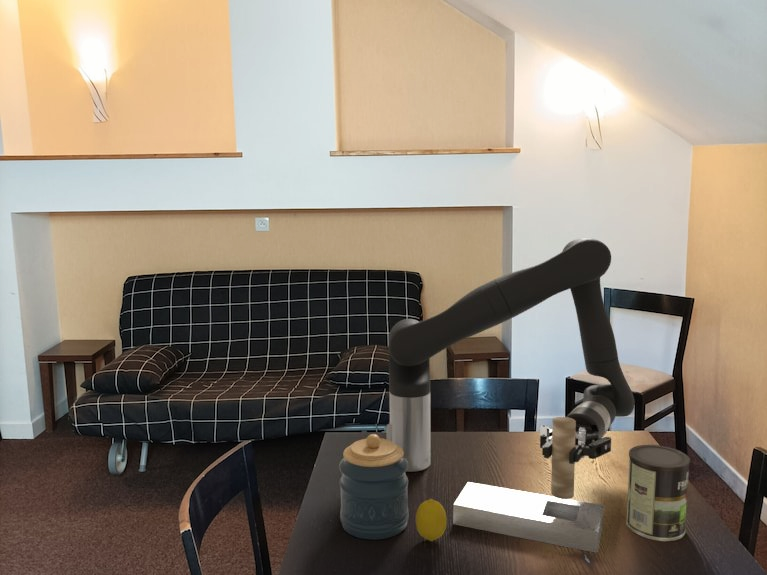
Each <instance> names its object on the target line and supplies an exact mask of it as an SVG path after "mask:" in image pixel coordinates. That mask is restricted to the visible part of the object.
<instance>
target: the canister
mask: <svg viewBox="0 0 767 575" xmlns="http://www.w3.org/2000/svg"><path fill="white" fill-rule="evenodd" d="M403 455H404V451H403V449H402V448H401V447H400V446H398V445H396V444H395V443H393V442H392V441H390V440H387V438H383V437H382V438H381V437H380V436H379V435H378V434H376V433H371V434H368V436H366V438H362V439H359V440H356V441H354V442H353V443H352V444H350V445H349V446H347V447H346V448H344V451H343V453H342V456H343V458H342V459H341V461H340V462H339V465H338V469H339V471H340V473H341V477H340V479H339V487H340V511H339V513H340V515H339V518H340V522H341V525H342V528H343V530H344V531H345V532H346V533H348V534H349V535H351V536H353V537H355V538H359V539H363V540H374V541H375V540H383V539H388V538H392V537H395V536H396V535H399V534H400V533H402V532H403V531H404V530H405V529H406V527H407V526H408V520H409V518H410V517H409V516H410V515H409V512H410V510H409V507H408V502H409V501H408V499H409V498H408V491H409V490H408V487H409V479H408V476H407V475H406V472H407V471H406V470H407V469H408V462H407V460H406V459H405V458H404V457H403Z"/></svg>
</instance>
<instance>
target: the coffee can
mask: <svg viewBox="0 0 767 575" xmlns="http://www.w3.org/2000/svg"><path fill="white" fill-rule="evenodd" d="M628 456H629V462H628V463H629V464H628V482H627V483H628V484H627V485H628V487H627V507H626V519H625V521H626V522H625V524H626V526H627V528H628V529H629V530H630V531H631V532H632V533H634V534H636V535H638V536H640V537H642V538H645V539H648V540H653V541H656V542H675V541H679V540H681V539H682V538H684V536H685V535H686V520H687V517H686V516H687V504H688V503H687V502H688V490H689V489H688V487H689V486H688V484H689V471H690V464H691V458H690V457H689V456H688V455H687V454H686V453H684V452H683V451H682V450H678V449H677V448H673V447H669V446H665V445H658V444H642V445H640V444H639V445H635V446H633V447H631V448H630V449H629V451H628Z"/></svg>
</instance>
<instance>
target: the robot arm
mask: <svg viewBox="0 0 767 575" xmlns="http://www.w3.org/2000/svg"><path fill="white" fill-rule="evenodd" d="M611 263H612V254H611V251H610V248H609V247H608V246H607V245H606V244H605V243H603V241H600V240H599V239H596V238H591V237H581V238H576V239H573V240H571V241H569V242H568V243H567V244H566V245H565V246H564V247H563V249H562V251H561V252H560V253H558V254H556V255H555V256H553V257H551V258H549V259H548V260H546V261H543V262H541V263H538V264H536V265H534V266H529V267H527V268H522V269H520V270H516V271H513V272H511V273H507V274H504V275H502V276H499V277H497V278H495V279H493V280H489V281H488V282H486V283H484V284H482V285H480V286H478V287H476V288H474V289H473V290H471V291H470V292H468V293H467V294H465V295H464V296H462V297H461V298H460V299H459V300H457V301H456V302H455V303H454V304H452V305H451V306H450V307H448V308H446V309H445V310H444V311H442V312H440V313H438V314H436V315H434V316H431V317H429V318H427V319H425V320H421V321H419V320H416V319H413V318H405V319H401V320H399V321H398V322H396V323H395V325H393V326H392V328H391V329H390V331H389V335H388V379H389V380H388V388H389V390H388V392H389V394H388V395H389V423H388V424H386V439H387V440H390V441H392V442H393V443H395V444H396V445H398V446H400V447H401V448H402V449H403V451H404V455H403V457H404V458H405V459H406V460H407V462H408V469H407V470H406V472H409V473H410V472H411V473H412V472H420V471H423V470H426V469H428V468H429V467H431V456H432V454H431V368H430V366H431V364H430V361H431V360H430V358H432V357H434V356H436V355H437V354H439V353H440V352H442V351H443V350H445V349H447V348H448V347H450V346H453V345H455V344H456V343H458V342H460V341H463V340H465V339H467V338H471V337H473V336H475V335H476V336H477V335H478V334H480V333H482V332H485V331H486V330H489V329H492V328H494V327H496V326H498V325H500V324H503V323H505V322H507V321H508V320H511V319H512V318H513V319H514V318H515V317H518V316H519V315H520V314H522V313H525V312H527V311H528V310H530V309H533V308H534V307H535V306H537V305H539V304H542V302H545V301H546V300H547V299H549V298H551V297H553V296H556V295H558V294H560V293H562V292H564V291H568V290H569V289H570V293H571V296H572V300H573V304H574V307H575V308H574V309H575V311H576V317H577V323H578V327H579V328H578V329H579V336H580V342H581V347H582V353H583V358H584V365H585V369H586V371H587V373H588V374H589V375H591V376H595V377H599V378H604V379H606V380H607V381H608V382H609V384H594V385H590V386H588V387H586V388H585V389H584V391H583V398H582V402H581V403H580V404H578V405H577V406H576V407H575V408H574V409H572V411H570V413H568V414H567V416H566V417H569V418H572V419H574V420H575V421H576V433H575V447H574V448H573V449H572V450H571V451H570V453H569V463H570V464H574V463H575V464H576V463H578V462H580V460H581V459H584V458H586V457H588V459H591V460H595V459H598V458H599V457H602V456H604V455H606V454H608V453H610V452H612V437H611V436H605V435H606V434H607V432H608V430H609V428H610V426H611V425H612V424H613V423H614V422H615V419H616V417H617V418H618V417H619V418H621V417H622V418H623V417H629V416H630V415H631V414H632V413H633V410H634V408H635V398H634V394H633V391H632V389H631V386H630V385H629V383H628V380H626V377H625V375H624V372H623V369H622V368H621V365H620V361H619V357H618V356H619V355H618V348H617V342H616V338H615V334H614V331H613V326H612V324H611V321H610V318H609V315H608V313H607V309H606V306H605V303H604V298H603V294H602V288H601V277H602V276H603V275H605V274H606V273H607V271H608V269H609V268H610V266H611ZM539 431H540V433H539V448H540V449H542V450H541V452H542V453H541V455H542V456H543V458H544V459H547V460H548V459H550V458H551V457H552V428H550V427H548V425H546V424H541V425H540V430H539Z"/></svg>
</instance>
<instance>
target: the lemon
mask: <svg viewBox="0 0 767 575" xmlns="http://www.w3.org/2000/svg"><path fill="white" fill-rule="evenodd" d="M447 522H448V520H447V512H446V510H445V508H444V506H443V505H442V504H441V503H440V502H439V501H437V500H434V499H433V498H429V499H426V500H424V501H423V502H421V503H420V505H419V506H418V508H417V510H416V514H415V525H416V530H417V532H418V533H419V535H420V536H421V537H422V538H424V539H425V540H428V541H429V542H433V541H435V540H437V539H439V538H441V537H442V536H443V534H444V533H445V531H446V528H447Z"/></svg>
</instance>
